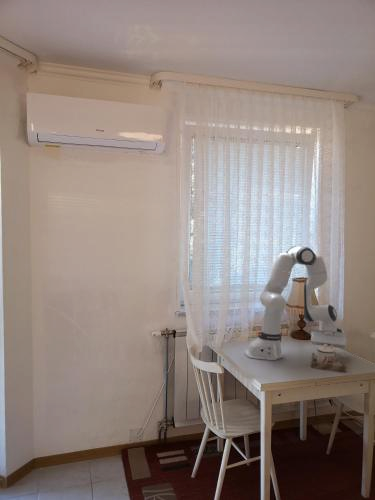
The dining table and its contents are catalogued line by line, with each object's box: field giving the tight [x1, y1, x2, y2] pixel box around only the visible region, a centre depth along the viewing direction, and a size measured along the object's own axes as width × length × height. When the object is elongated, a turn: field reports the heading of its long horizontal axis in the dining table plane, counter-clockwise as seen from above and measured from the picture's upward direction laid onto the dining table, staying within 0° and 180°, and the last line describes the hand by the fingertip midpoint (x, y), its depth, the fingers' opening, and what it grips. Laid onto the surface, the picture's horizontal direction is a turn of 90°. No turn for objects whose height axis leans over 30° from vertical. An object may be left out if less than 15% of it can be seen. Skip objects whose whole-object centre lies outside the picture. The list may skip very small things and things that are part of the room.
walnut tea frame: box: [310, 352, 346, 373], centre depth 207 cm, size 17×18×3 cm
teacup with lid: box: [316, 344, 338, 365], centre depth 206 cm, size 12×9×12 cm
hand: (328, 351), depth 214 cm, fingers closed
